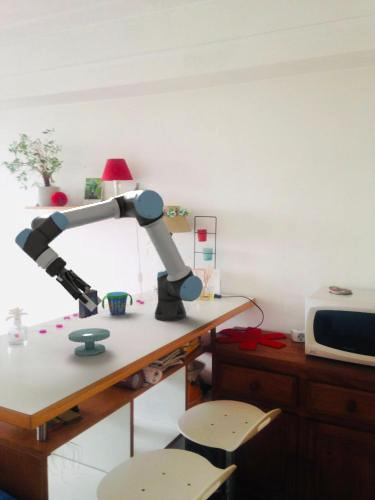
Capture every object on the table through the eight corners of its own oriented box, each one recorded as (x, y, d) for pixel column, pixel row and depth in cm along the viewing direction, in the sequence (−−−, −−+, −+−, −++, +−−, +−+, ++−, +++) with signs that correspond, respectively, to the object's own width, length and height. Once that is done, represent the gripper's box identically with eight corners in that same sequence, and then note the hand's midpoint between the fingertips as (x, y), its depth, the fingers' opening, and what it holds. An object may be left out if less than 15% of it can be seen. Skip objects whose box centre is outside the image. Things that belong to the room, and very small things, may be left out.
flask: (82, 319, 159) (81, 289, 158) (76, 318, 161) (75, 288, 160) (99, 313, 167) (98, 285, 166) (93, 312, 169) (92, 284, 168)
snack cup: (129, 309, 231) (129, 290, 230) (135, 313, 221) (135, 293, 220) (100, 312, 224) (99, 293, 223) (104, 317, 215) (103, 296, 214)
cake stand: (113, 344, 172) (113, 327, 172) (106, 357, 157) (105, 339, 157) (75, 344, 173) (74, 328, 172) (63, 357, 158) (63, 340, 157)
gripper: (54, 266, 173) (96, 306, 174) (34, 274, 152) (82, 320, 153) (67, 252, 172) (109, 293, 174) (49, 259, 151) (97, 305, 152)
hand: (97, 305), depth 163 cm, fingers closed on flask, 8 cm apart
